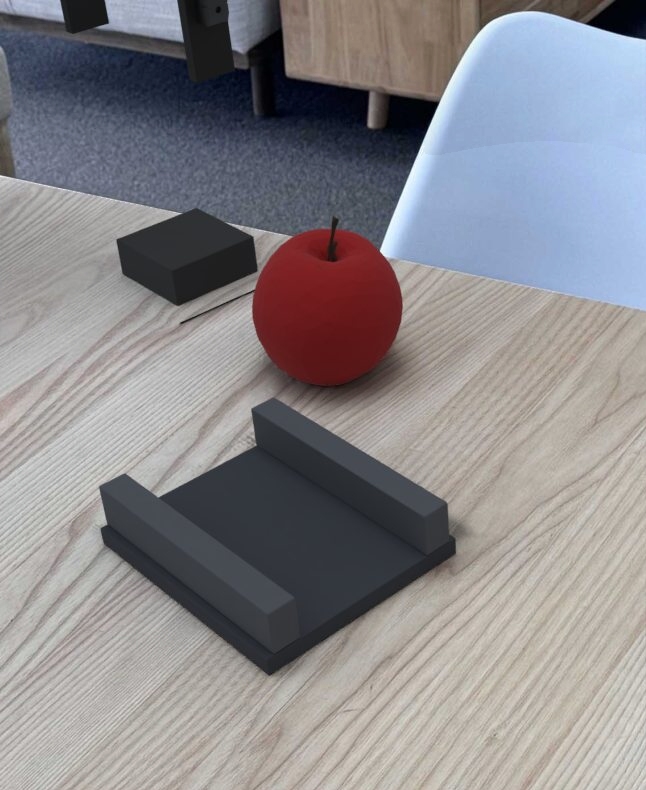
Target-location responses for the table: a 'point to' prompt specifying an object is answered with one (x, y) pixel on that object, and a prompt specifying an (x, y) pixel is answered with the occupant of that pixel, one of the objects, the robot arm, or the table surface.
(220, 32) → the robot arm
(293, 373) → the apple
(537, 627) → the table surface
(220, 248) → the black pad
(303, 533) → the base pad
